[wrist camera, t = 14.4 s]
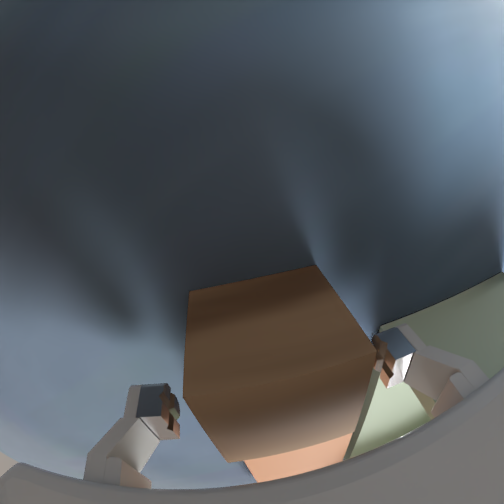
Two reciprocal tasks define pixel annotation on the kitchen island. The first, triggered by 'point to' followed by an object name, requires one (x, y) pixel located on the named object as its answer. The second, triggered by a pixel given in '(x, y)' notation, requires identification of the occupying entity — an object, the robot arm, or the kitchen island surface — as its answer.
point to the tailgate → (299, 460)
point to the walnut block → (274, 364)
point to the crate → (443, 337)
